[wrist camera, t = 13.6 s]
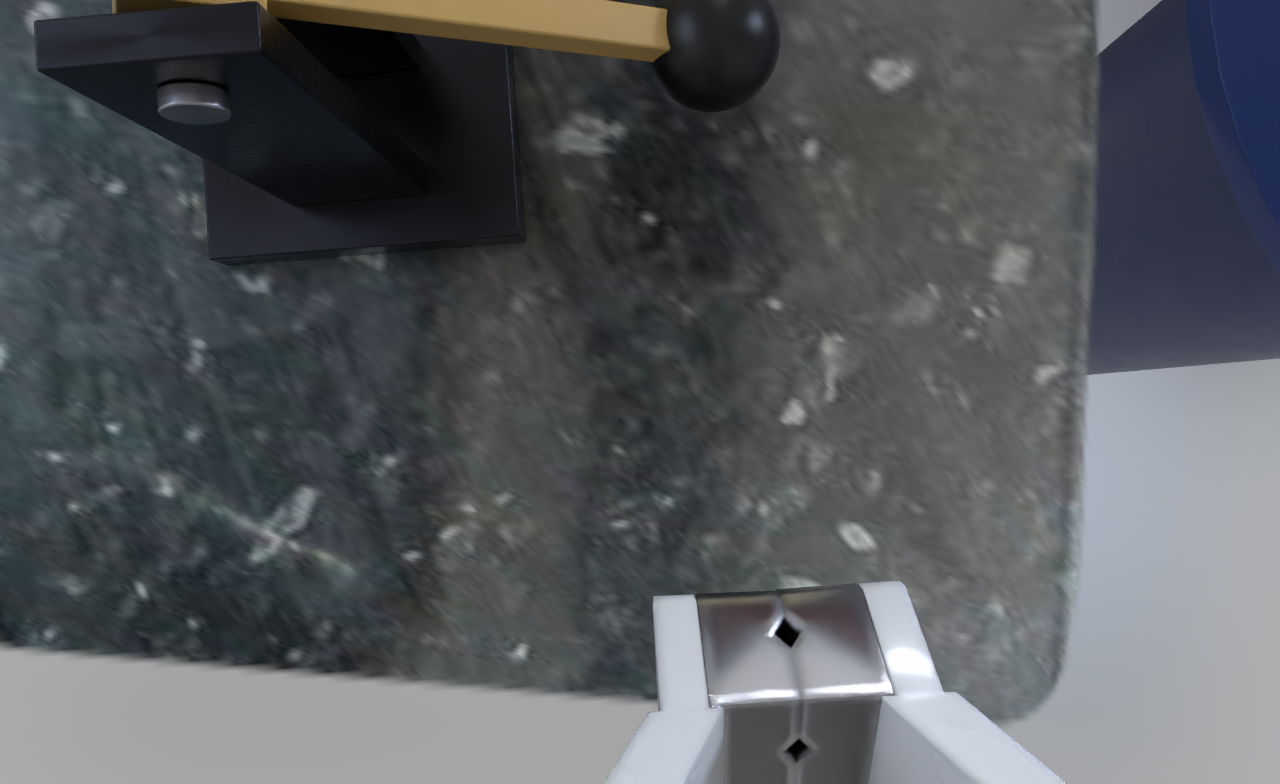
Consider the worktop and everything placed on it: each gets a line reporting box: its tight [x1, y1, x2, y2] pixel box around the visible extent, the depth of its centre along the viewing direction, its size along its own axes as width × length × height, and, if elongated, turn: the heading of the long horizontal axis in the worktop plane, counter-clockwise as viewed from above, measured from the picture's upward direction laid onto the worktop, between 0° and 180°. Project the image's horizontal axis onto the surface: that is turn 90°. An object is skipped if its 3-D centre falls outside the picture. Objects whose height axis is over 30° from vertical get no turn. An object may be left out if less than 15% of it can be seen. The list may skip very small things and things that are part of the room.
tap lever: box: [112, 0, 780, 112], centre depth 24 cm, size 16×4×4 cm, turn 95°
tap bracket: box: [34, 1, 526, 265], centre depth 26 cm, size 10×8×14 cm
